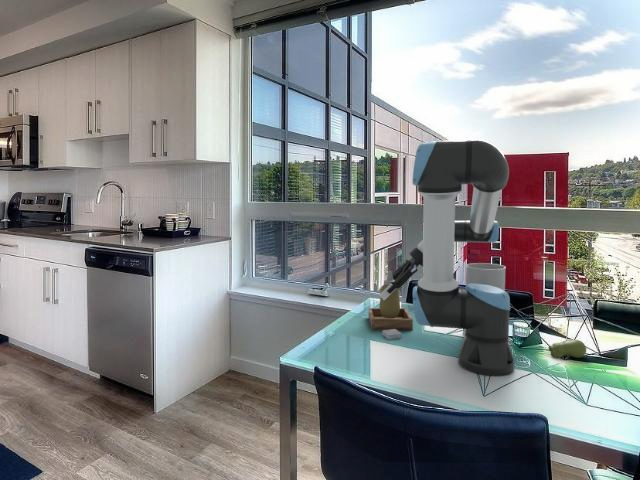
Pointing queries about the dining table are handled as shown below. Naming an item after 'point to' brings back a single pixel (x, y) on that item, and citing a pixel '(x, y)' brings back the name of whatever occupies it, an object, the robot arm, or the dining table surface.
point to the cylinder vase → (486, 274)
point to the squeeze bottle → (390, 300)
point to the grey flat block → (391, 334)
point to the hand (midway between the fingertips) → (380, 295)
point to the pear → (568, 349)
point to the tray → (390, 320)
